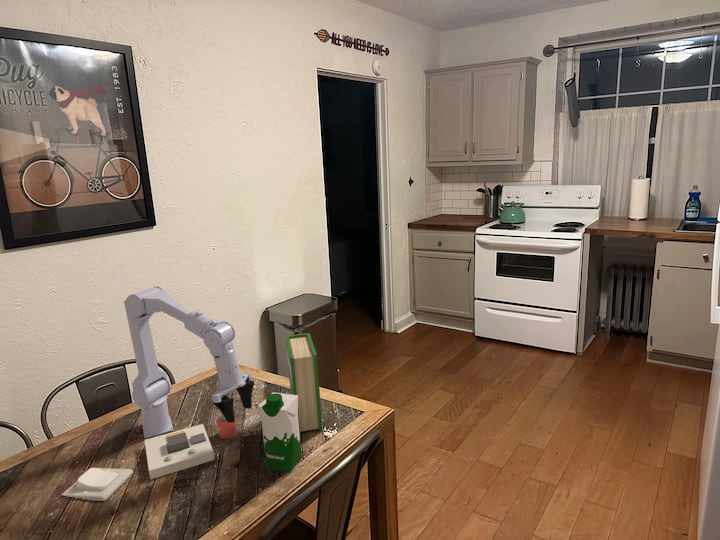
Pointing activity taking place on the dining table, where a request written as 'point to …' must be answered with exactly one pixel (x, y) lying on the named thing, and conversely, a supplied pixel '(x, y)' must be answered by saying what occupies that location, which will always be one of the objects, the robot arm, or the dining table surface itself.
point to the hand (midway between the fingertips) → (239, 414)
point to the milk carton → (280, 431)
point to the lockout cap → (226, 428)
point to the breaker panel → (178, 452)
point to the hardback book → (304, 380)
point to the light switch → (98, 483)
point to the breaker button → (177, 442)
